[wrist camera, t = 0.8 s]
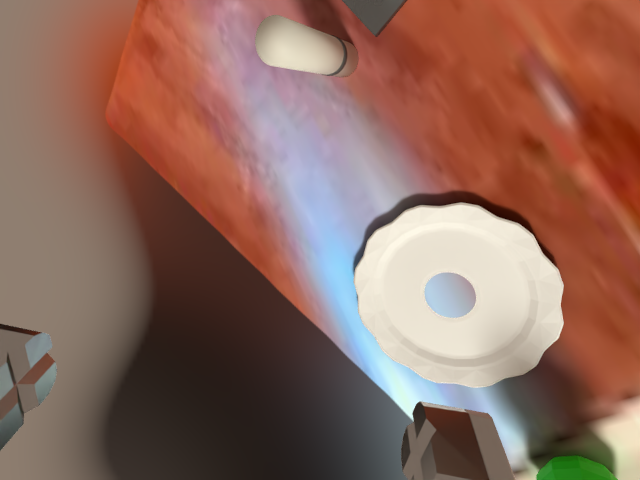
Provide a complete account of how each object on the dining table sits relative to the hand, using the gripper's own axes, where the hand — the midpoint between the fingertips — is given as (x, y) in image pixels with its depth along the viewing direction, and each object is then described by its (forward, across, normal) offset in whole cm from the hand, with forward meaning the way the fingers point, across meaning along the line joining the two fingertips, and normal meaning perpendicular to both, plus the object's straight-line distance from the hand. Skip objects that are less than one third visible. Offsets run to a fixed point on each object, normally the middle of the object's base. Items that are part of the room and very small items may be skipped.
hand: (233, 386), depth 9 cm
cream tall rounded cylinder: (+46, 0, -5) cm, 47 cm away
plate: (+38, -20, +20) cm, 47 cm away
